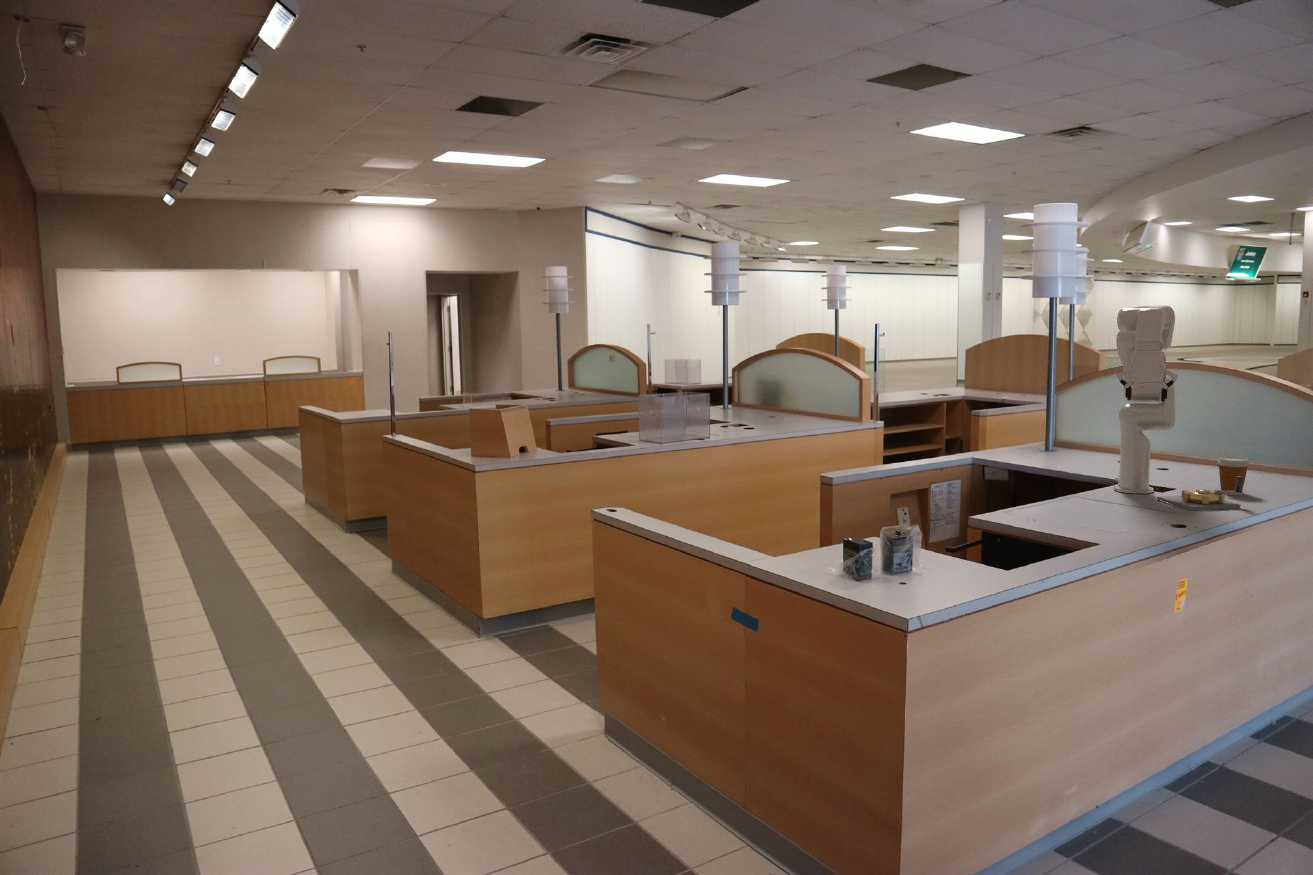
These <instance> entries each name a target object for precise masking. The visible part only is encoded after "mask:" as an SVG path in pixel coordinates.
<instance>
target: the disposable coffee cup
mask: <svg viewBox="0 0 1313 875" xmlns="http://www.w3.org/2000/svg"><path fill="white" fill-rule="evenodd" d="M1217 465H1218V470H1219V472H1218V473H1219V483H1220V484H1219V485H1220V490H1228V491H1235V485H1236V476H1243V487H1244V485H1245V480H1246V477H1247V472H1248V467H1249V465H1250V462H1249V459H1248V458H1245V457H1235V456H1222V457H1221V456H1220V457H1219V458H1218V460H1217ZM1243 491H1244V489H1243V490H1242V492H1243Z"/></svg>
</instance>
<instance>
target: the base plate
mask: <svg viewBox="0 0 1313 875" xmlns="http://www.w3.org/2000/svg"><path fill="white" fill-rule="evenodd" d="M1157 499H1158V500H1162V501H1164V502H1168V503H1170V504H1169V505H1171V504H1172V506H1174V505H1175V507H1178V508H1181V507H1182V508H1181V509H1185V510H1187V509H1188V511H1192V512H1193V511H1213V510H1232V509H1235V510H1236V509H1241V504H1240V503H1236V502H1232V501H1228V500H1225V499H1224V503H1223V504H1220V503H1218V504H1201V503H1193V502H1186V501H1183V498H1182V495H1171V496H1170V495H1167V496H1156V500H1157ZM1158 500H1157V501H1158ZM1164 502H1163V503H1164Z"/></svg>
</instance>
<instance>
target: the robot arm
mask: <svg viewBox="0 0 1313 875" xmlns="http://www.w3.org/2000/svg"><path fill="white" fill-rule="evenodd" d="M1175 323H1176V314H1175V310H1174V309H1173V307H1171V306H1170V305H1165V304H1164V305H1139V306H1138V305H1137V306H1134V307H1125V308H1120V310H1119V311H1118V313H1117V317H1116V325H1117V328H1118V330H1119V331H1118V332H1117V335H1116V338H1115V339H1116V340H1115V341H1116V342H1115V343H1116V350H1117V355H1118V356H1119V359H1120V362H1121V363H1122V367H1123V371H1122V372H1119V373H1117V375H1116V376H1117V379H1118V381H1119V383H1120V384H1121V385H1122V386H1123V396H1124V398H1125V400H1126V401H1128V402H1131V403H1127V404H1124V405H1122V406H1121V407H1120V409H1119V411H1118V418H1119V419H1118V420H1119V426H1120V451H1119V452H1120V453H1119V475H1118V476H1117V477H1116V478H1115V480H1114V481H1115V482H1117V485H1114V486H1113V489H1114V491H1116V492H1118V493H1119V492H1120V493H1126V494H1136V495H1137V494H1138V495H1141V494H1143V495H1144V494H1152V493H1154V488H1153V487H1151V486H1150V485H1149V484H1150V469H1151V468H1150V466H1151V447H1152V446H1151V441H1150V439H1149V437H1148V436H1147V435H1146V434H1145V433H1144V431H1159V432H1160V431H1161V432H1162V431H1165V432H1167V431H1170V430H1172V429H1173V428H1174V426H1175V424H1176V397H1175V396H1176V394H1175V393H1176V392H1175V390H1176V389H1175V382H1176V381H1177V379H1178V377H1179V375H1178V374H1177V373H1174V372H1172V371H1170V370H1168V369H1167V363H1166V362H1167V360H1166V359H1167V358H1166V352H1165V351H1166V350H1169V348H1170V347H1171V345H1172V341H1173V337H1174V336H1173V335H1174V330H1175Z"/></svg>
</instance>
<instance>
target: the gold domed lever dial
mask: <svg viewBox="0 0 1313 875" xmlns="http://www.w3.org/2000/svg"><path fill="white" fill-rule="evenodd" d="M1242 490H1243V491H1244V486H1243V476H1236V485H1235V491H1228V490H1221V489H1214V490H1210V489H1205V488H1204V489H1202V488H1197V489H1182V490H1181V496H1182V498H1183V501H1186V502H1193V503H1201V504H1218V503H1220V504H1223V503H1224V500H1225V499H1226V497H1225V495H1227V496H1229V495H1231V496H1243V494H1244V492H1243V491H1242Z"/></svg>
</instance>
